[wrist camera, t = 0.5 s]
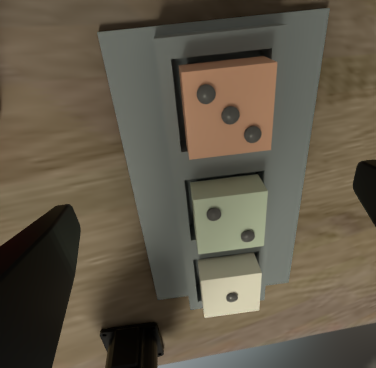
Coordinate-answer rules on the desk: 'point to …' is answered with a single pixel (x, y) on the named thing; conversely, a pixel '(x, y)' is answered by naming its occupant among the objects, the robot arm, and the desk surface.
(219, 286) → the tile
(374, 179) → the robot arm
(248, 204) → the tile
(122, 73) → the board
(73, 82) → the desk surface
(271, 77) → the tile
